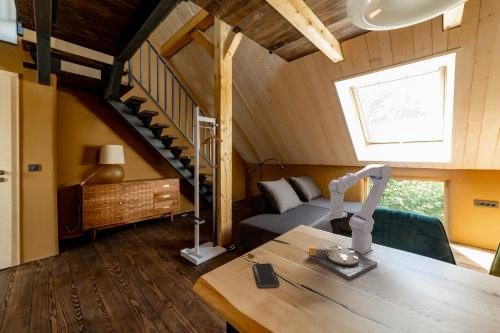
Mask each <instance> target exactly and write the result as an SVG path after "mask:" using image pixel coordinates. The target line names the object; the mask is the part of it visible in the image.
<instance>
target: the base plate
mask: <svg viewBox="0 0 500 333" xmlns="http://www.w3.org/2000/svg"><path fill="white" fill-rule="evenodd" d="M338 247H341V248H342V249H345V248H343V247H342V246H339V245H337V244H335V245H333V246H330V247H328V248H330V249H331V248H338ZM355 254H357V255H358V257H359V261H358V263H357V264H356V265H351V266H347V265H340V264H337V263H334V262H332V261H330V260H329V259H328V258H327V257H325V256H317V255H316V256H314V255H309V254H308V259H310V260H311V261H312V262H315V263H317V264H319V265H320V266H322V267H323V268H326V269H327V270H330V271H331V272H333V273H335V274H337V275H339V276H341V277H342V278H345V279H347V280H348V281H351V280H353V279H355V278H357V277H358V276H360V275H362V274H365V273H367V272H368V271H370V270H371V269H373V268H376V267H378V262H377V261H375V260H372V259H369V258H368V257H365V256H364V255H360V254H359V253H356V252H355Z"/></svg>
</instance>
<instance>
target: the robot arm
mask: <svg viewBox="0 0 500 333" xmlns="http://www.w3.org/2000/svg"><path fill="white" fill-rule="evenodd" d="M392 175H393V171H392V168H391V166H390V165H389V164H376V163H375V164H374V163H370V164H367V165H366V166H365V167H363V168H362V169H360V170H359V171H357V172H355V173H351V172H350V173H349V172H347V173H346V174H345V175H344V176H341V177H338V178H337V179H332V180H331V181H329V184H328V185H327V186H328V190H329V194H330V206H329V207H330V208H329V212H328V214H327V215H325V216H324V221H326V222H328V223H329V224H330V226H331V231H332V234H334V235H339V234H340V230H341V227H342V225H343V223H344V222H345V219H344V218H348V212H346V211H345V212H344V199H345V197H344V196H345V194H346V192H347V190H348V189H349V188H351V187H353V186H355V185H357V184H358V181H360V180H362V179H364V178H367V177H369V180H370V181H372V183H373V185H372V187H371V189H370V191H369V192H368V195H367V196H366V199H365V201H364V203H363V205H362V207H361V208H360V210H359V211H356V212H354V214H353V215H352V216H351V217H350V218H349V221H348V224H349V227H350V228H351V231H352V232H351V245H349V246H348V247H347V248H348V250H349V249H350V250H351V251H355V252H357V253H358V254H359V253H360V254H362V255H363V254H367V253H368V252H371V251H373V250H374V248H373V247H372V243H373V235H372V234H371V233H372V232H373V229H374V225H375V220H374V218H373V217H372V216H373V214H374V212H375V210H376V208H377V206H378V205H379V202H380V200H381V198H382V196H383V194H384V192H385V190H386V188H387V186H388V183H389V182H390V179H391V177H392Z"/></svg>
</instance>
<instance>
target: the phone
mask: <svg viewBox="0 0 500 333" xmlns="http://www.w3.org/2000/svg"><path fill="white" fill-rule="evenodd" d="M252 267H253V271H254V276H255V279H256V282H257V287H258V288H259V289H269V288H271V289H272V288H279V287H280V283H281V282H280V281H279V278H278V275H277V274H276V271H275V269H274V266H273V264H272V263H269V262H268V263H267V262H266V263H254V264H253V266H252Z"/></svg>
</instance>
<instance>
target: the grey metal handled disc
mask: <svg viewBox="0 0 500 333" xmlns="http://www.w3.org/2000/svg"><path fill="white" fill-rule="evenodd" d="M341 247H342V246H339V247H338V248H331V249H330V248H329V247H322V246H320V247H318V246H315V245H314V246H311V245H308V256H309V255H314V256H316V255H317V256H325V257H327V258H328V259H329V260H330V261H332V262H334V263H337V264H340V265H347V266H351V265H356V264H357V263H358V261H359V257H358V255H359V254H358V253H356V251H354V250H349V249H346V248H344V249H342V248H343V247H342V248H341ZM355 253H356V254H355ZM357 254H358V255H357Z"/></svg>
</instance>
